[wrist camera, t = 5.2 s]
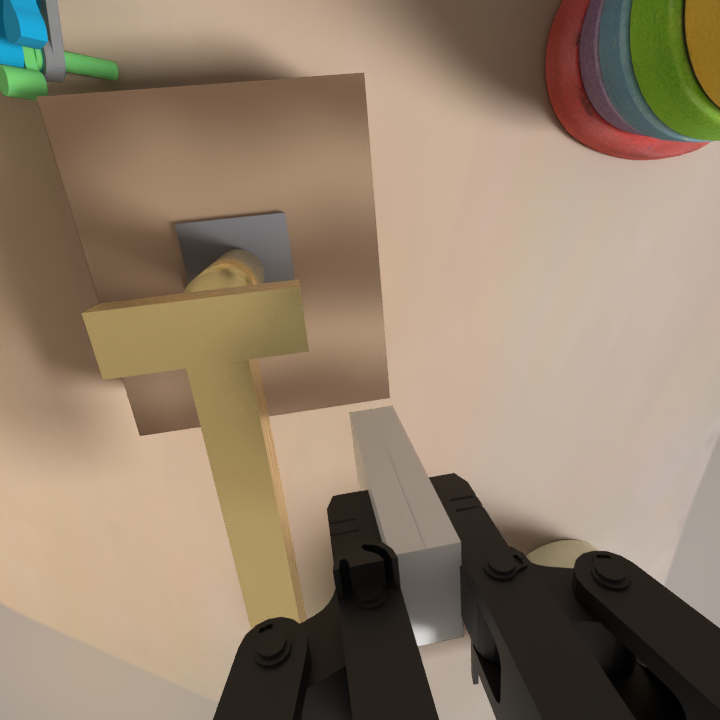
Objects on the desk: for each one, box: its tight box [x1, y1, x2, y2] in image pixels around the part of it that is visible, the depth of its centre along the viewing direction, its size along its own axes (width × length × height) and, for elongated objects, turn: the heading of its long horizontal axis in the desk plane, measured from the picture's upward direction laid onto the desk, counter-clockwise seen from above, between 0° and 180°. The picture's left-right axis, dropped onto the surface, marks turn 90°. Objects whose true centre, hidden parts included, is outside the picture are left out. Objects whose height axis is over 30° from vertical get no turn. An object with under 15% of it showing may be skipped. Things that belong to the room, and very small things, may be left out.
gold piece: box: [81, 249, 309, 629], centre depth 17 cm, size 15×5×9 cm, turn 6°
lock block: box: [36, 73, 390, 436], centre depth 21 cm, size 14×12×5 cm
